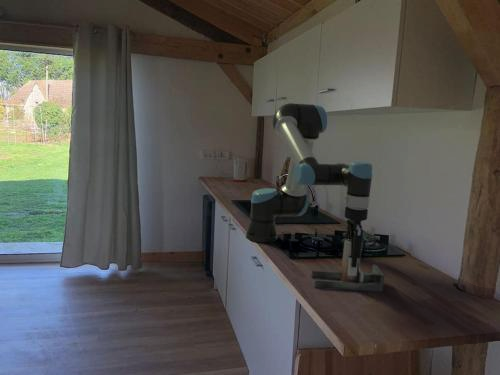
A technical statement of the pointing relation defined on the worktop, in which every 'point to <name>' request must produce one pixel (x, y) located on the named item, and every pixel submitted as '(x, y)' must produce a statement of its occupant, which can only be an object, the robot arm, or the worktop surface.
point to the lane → (375, 277)
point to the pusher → (363, 276)
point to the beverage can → (346, 263)
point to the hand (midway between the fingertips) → (349, 271)
